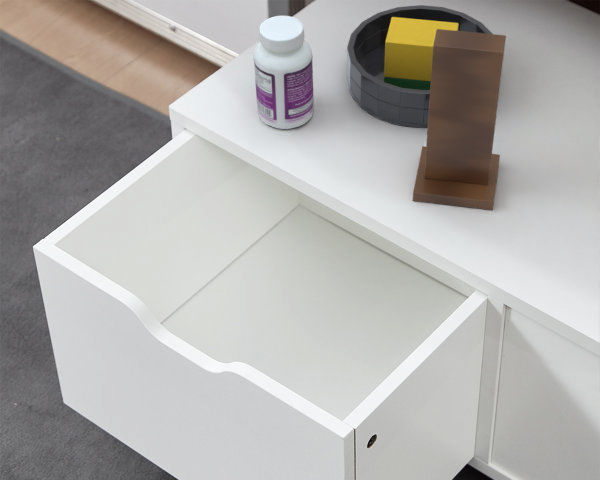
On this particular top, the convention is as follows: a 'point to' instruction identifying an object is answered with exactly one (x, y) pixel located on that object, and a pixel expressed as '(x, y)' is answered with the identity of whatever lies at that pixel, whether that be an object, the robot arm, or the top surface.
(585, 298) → the top surface
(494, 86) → the brown upright plaque stand
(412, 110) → the pan
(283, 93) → the pill bottle
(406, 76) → the sponge
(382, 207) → the top surface
